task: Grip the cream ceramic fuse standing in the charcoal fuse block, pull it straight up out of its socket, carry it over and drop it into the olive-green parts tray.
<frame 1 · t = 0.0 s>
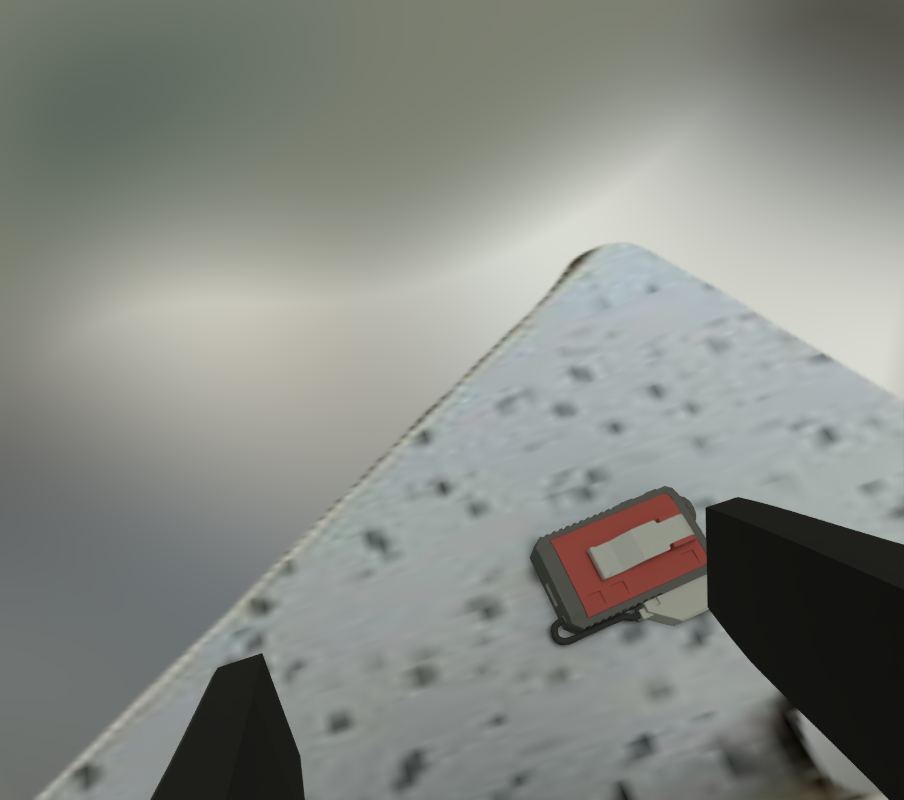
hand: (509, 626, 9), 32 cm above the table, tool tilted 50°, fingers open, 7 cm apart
red belt-clip case: (658, 560, 43), on the table
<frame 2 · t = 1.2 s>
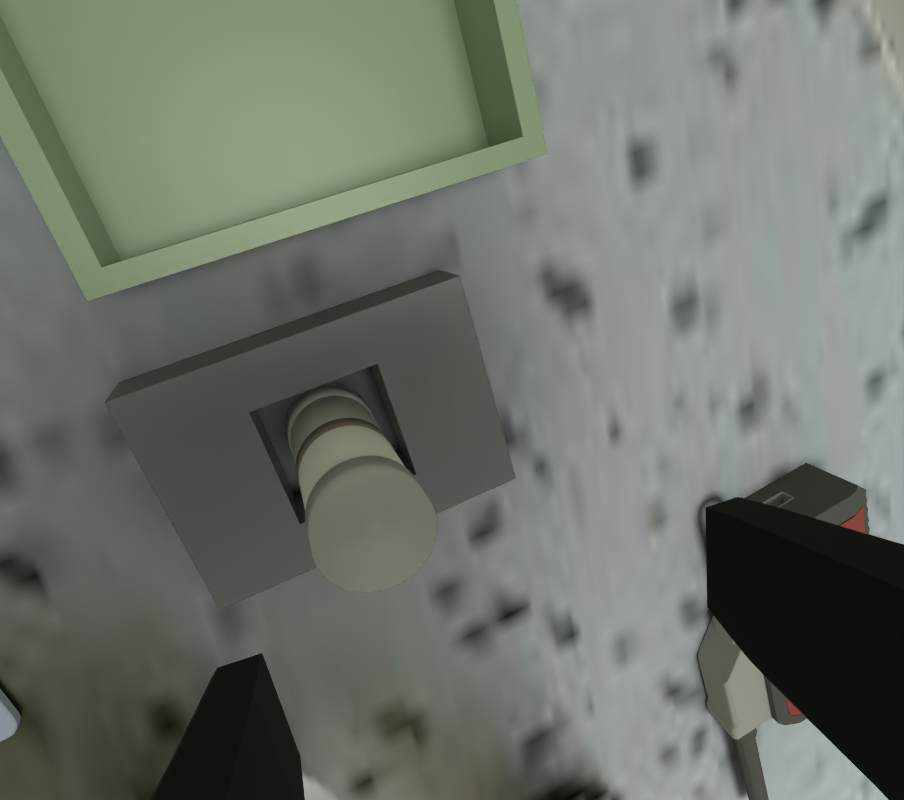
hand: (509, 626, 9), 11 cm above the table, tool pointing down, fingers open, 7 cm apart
parts tray: (254, 30, 16), on the table
fuse: (328, 423, 19), resting in fuse block
red belt-clip case: (761, 631, 30), on the table
fuse block: (328, 423, 19), on the table
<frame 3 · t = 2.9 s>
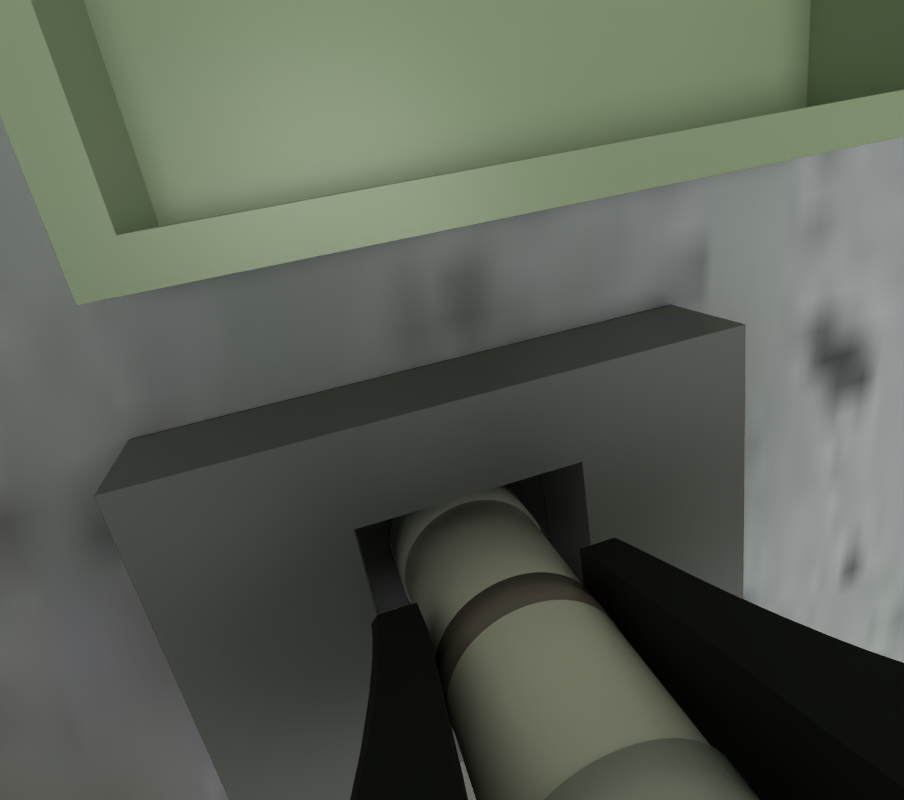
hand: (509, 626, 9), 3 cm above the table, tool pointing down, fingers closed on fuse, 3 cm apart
fuse: (457, 530, 12), resting in fuse block, touching gripper
fuse block: (457, 531, 12), on the table
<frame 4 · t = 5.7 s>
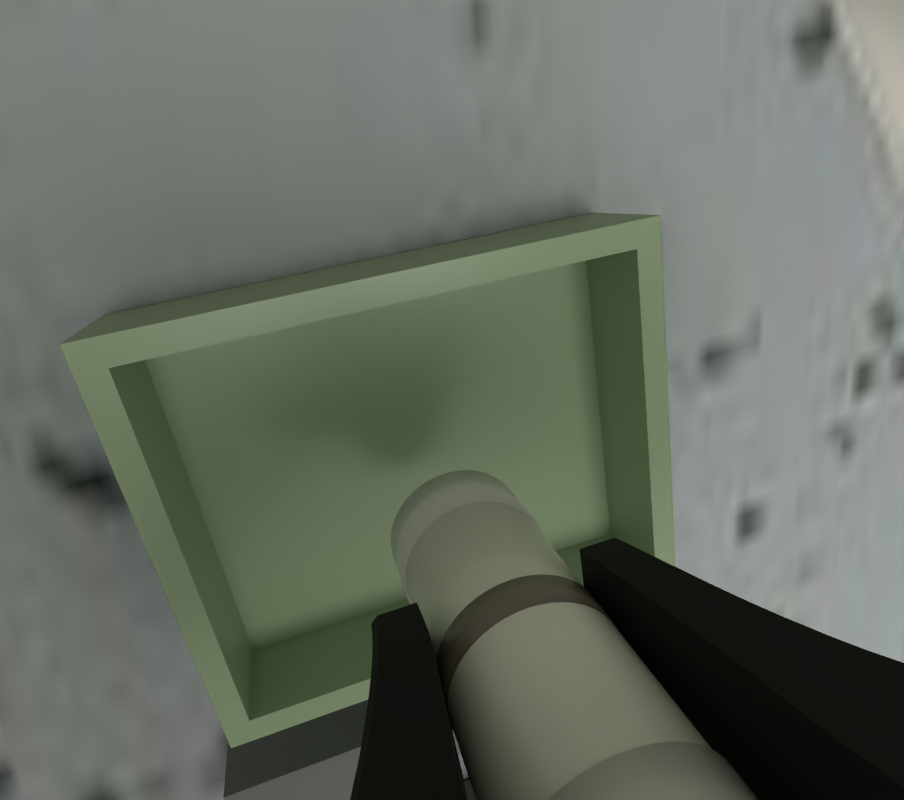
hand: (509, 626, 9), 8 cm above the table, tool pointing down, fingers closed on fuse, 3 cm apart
parts tray: (408, 444, 16), on the table
fuse: (457, 532, 12), point 5 cm above the table, touching gripper
fuse block: (415, 756, 20), on the table
when the fingers open (5 cm above the table, at t = 6.8 s): fuse drops 1 cm, resting on parts tray.
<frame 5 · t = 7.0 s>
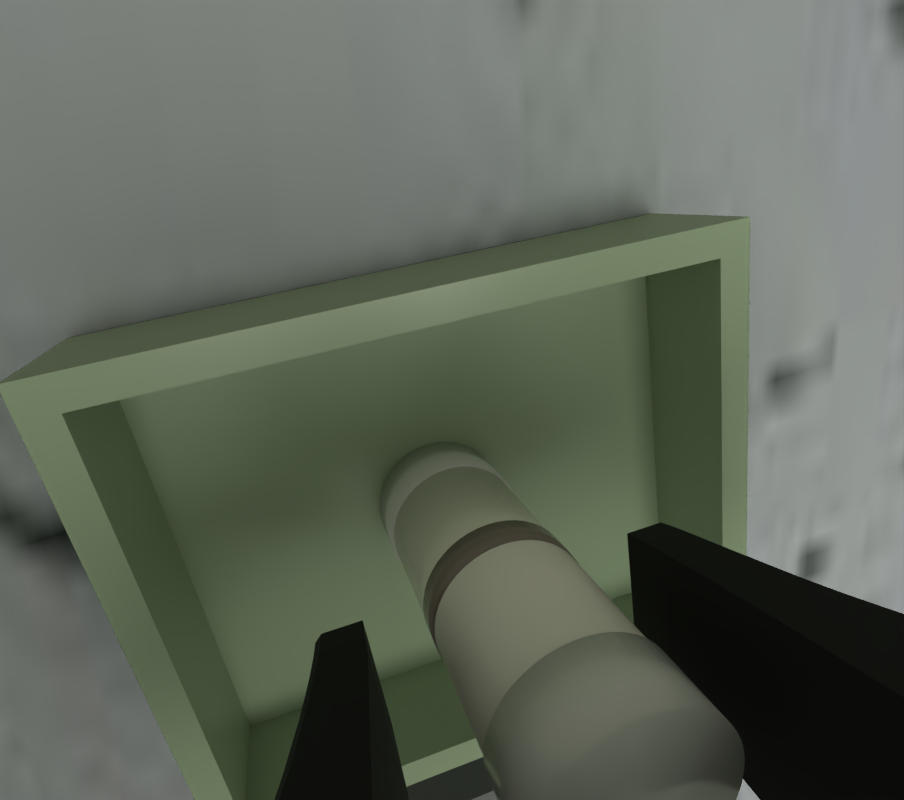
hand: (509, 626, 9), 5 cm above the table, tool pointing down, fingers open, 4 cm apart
parts tray: (432, 485, 14), on the table
fuse: (439, 499, 13), point 1 cm above the table, touching parts tray
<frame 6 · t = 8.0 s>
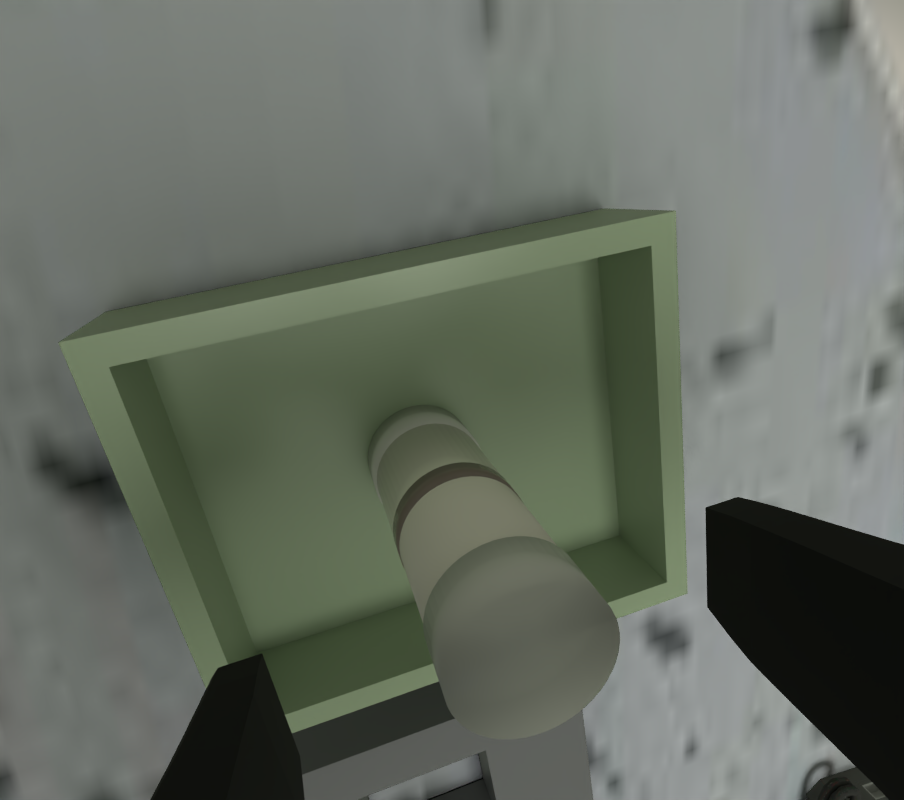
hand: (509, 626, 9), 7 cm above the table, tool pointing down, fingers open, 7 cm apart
parts tray: (415, 444, 16), on the table
fuse: (420, 454, 15), point 1 cm above the table, touching parts tray
fuse block: (420, 760, 19), on the table
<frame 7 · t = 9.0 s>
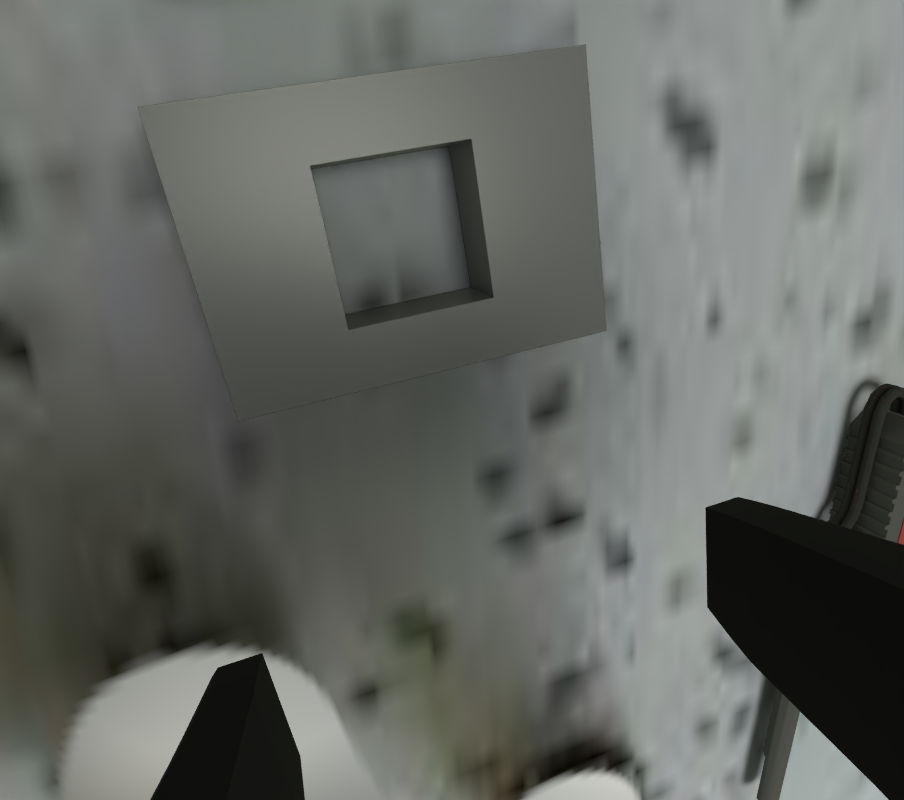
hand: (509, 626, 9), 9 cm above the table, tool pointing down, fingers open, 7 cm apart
red belt-clip case: (838, 586, 27), on the table
fuse block: (393, 232, 16), on the table
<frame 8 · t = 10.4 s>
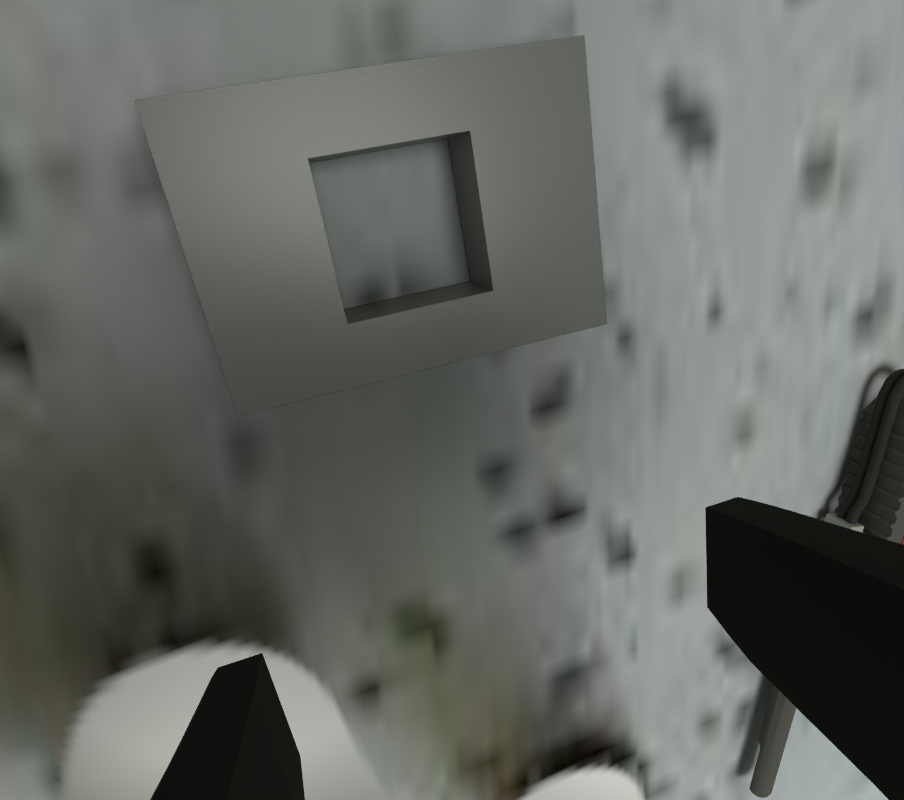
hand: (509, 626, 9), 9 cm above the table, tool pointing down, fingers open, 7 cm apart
red belt-clip case: (840, 577, 26), on the table
fuse block: (392, 226, 16), on the table
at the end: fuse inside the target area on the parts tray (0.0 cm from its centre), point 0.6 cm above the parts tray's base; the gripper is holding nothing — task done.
